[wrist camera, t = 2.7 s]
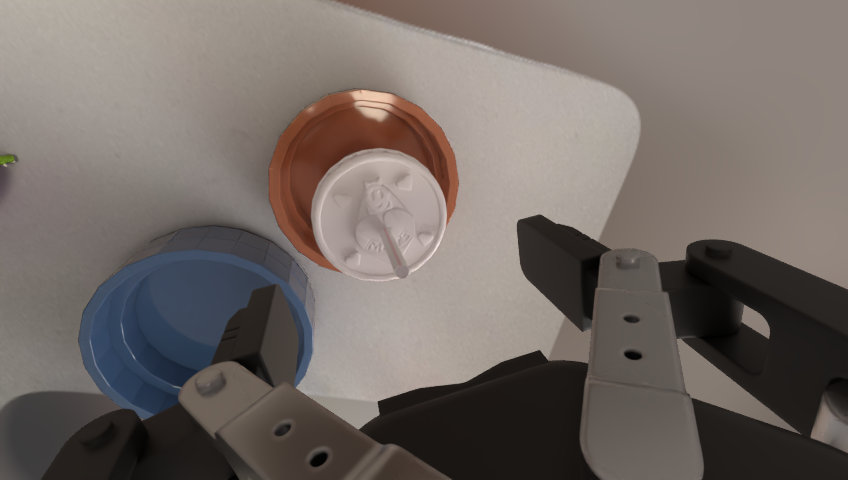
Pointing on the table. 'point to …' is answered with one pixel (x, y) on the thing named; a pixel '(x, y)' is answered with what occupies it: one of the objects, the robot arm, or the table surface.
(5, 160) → the purple framed piece
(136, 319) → the blue bowl
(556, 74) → the table surface
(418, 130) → the terracotta bowl
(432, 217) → the smoothie
